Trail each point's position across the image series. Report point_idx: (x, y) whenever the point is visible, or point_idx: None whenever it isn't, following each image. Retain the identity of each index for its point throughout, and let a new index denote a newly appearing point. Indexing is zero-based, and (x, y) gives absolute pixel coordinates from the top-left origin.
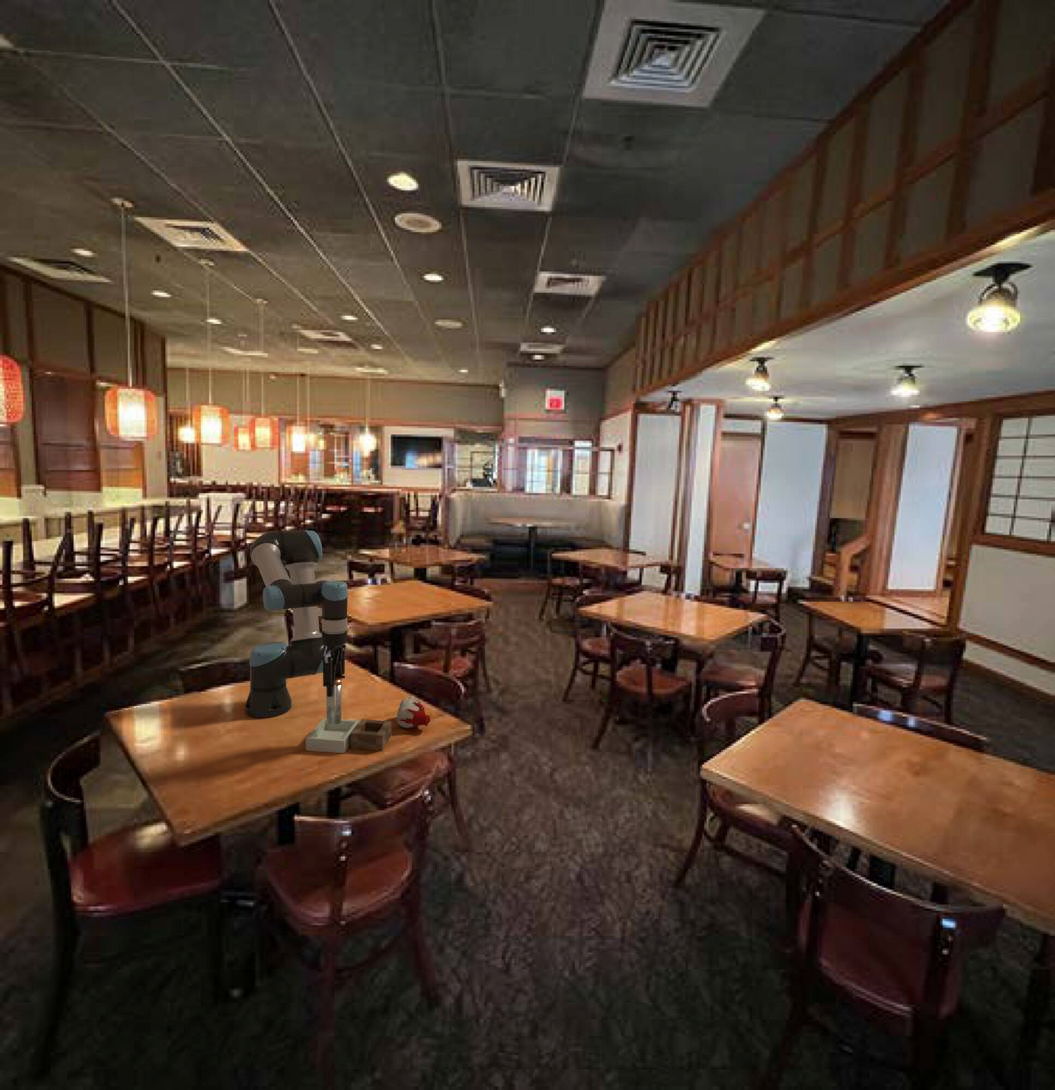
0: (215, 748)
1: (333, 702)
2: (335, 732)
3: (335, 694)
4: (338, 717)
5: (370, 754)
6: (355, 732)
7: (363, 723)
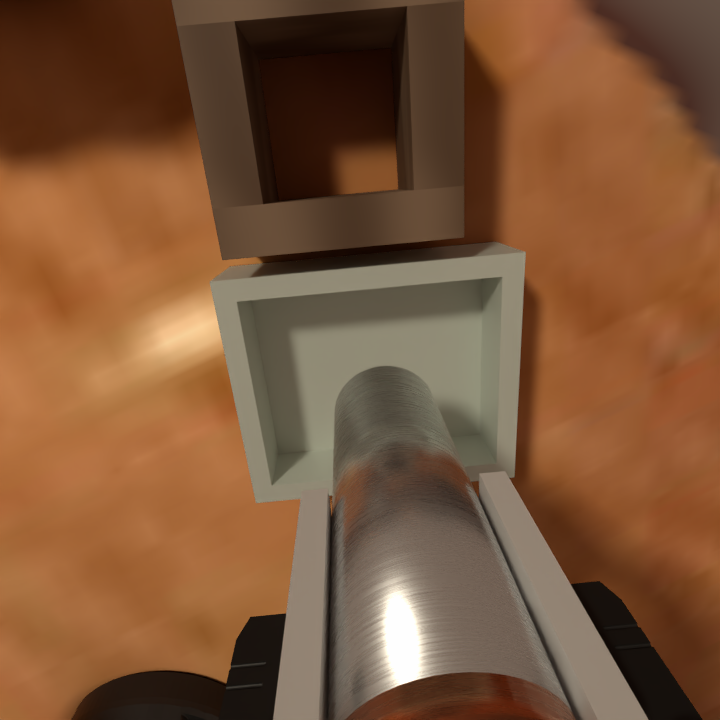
0: None
1: (519, 508)
2: (310, 385)
3: (538, 572)
4: (417, 391)
5: (492, 61)
6: (443, 210)
7: (287, 213)
